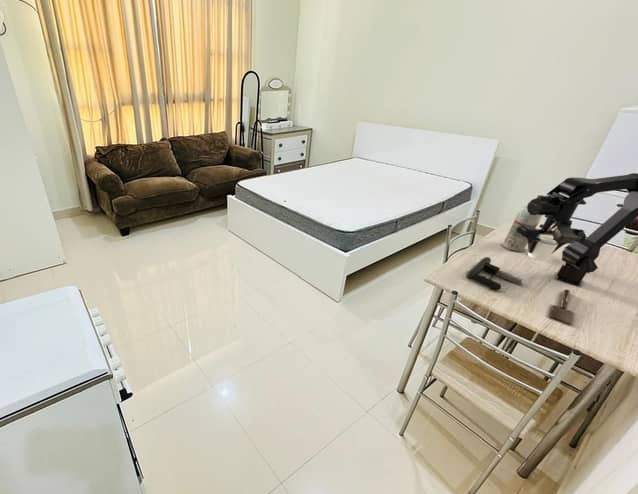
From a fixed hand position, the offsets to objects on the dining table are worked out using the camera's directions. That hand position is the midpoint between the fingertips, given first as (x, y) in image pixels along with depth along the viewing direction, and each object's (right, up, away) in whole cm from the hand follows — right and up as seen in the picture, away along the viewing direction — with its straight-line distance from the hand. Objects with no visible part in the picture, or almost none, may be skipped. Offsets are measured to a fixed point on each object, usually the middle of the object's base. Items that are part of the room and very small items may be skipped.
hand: (539, 253), depth 119 cm
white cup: (0, -1, +1) cm, 2 cm away
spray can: (+14, +2, +27) cm, 31 cm away
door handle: (-13, -10, +6) cm, 17 cm away
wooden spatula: (0, -18, -9) cm, 20 cm away
